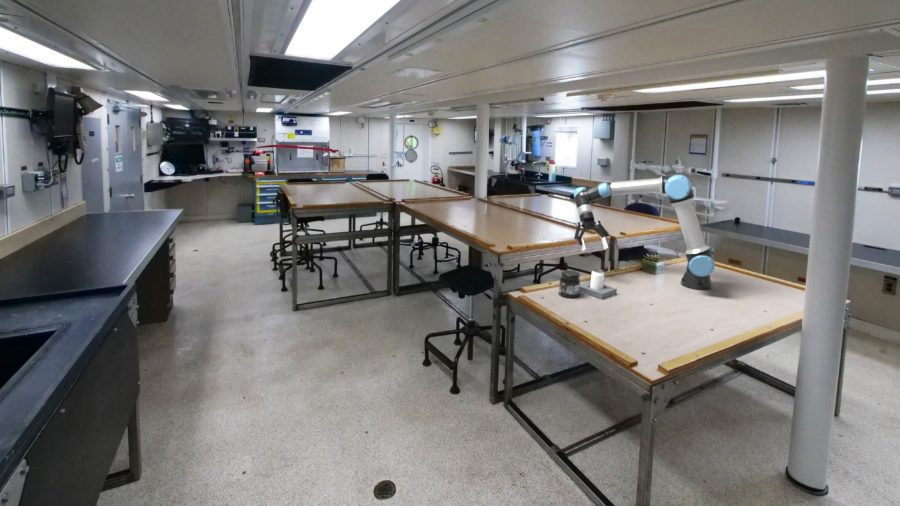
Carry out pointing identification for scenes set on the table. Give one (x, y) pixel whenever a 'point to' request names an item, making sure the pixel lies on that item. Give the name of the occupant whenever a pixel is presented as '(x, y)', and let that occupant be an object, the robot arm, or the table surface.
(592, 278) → the can
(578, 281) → the supplement container
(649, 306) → the table surface
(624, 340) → the table surface
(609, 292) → the socket plate
